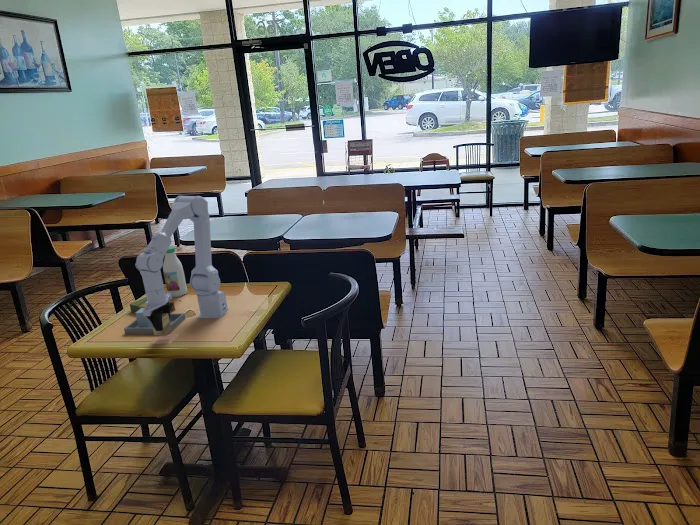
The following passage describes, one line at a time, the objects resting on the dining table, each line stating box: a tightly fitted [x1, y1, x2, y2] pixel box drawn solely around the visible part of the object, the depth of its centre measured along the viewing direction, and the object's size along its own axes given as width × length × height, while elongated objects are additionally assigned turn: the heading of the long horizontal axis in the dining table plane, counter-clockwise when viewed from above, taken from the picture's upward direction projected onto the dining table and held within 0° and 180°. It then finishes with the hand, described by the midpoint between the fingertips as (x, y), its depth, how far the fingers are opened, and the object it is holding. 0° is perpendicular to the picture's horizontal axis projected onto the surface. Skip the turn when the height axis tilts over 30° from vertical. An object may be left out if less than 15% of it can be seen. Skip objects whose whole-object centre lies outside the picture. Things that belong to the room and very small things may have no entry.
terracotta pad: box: [150, 333, 180, 345], centre depth 173 cm, size 7×7×1 cm
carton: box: [129, 296, 176, 313], centre depth 198 cm, size 8×16×4 cm, turn 58°
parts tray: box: [123, 312, 186, 335], centre depth 183 cm, size 16×12×2 cm
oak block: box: [152, 313, 172, 336], centre depth 171 cm, size 4×4×6 cm
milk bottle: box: [162, 246, 188, 298], centre depth 212 cm, size 8×8×20 cm
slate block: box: [135, 308, 152, 328], centre depth 183 cm, size 4×4×6 cm
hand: (162, 327), depth 171 cm, fingers closed on oak block, 4 cm apart
